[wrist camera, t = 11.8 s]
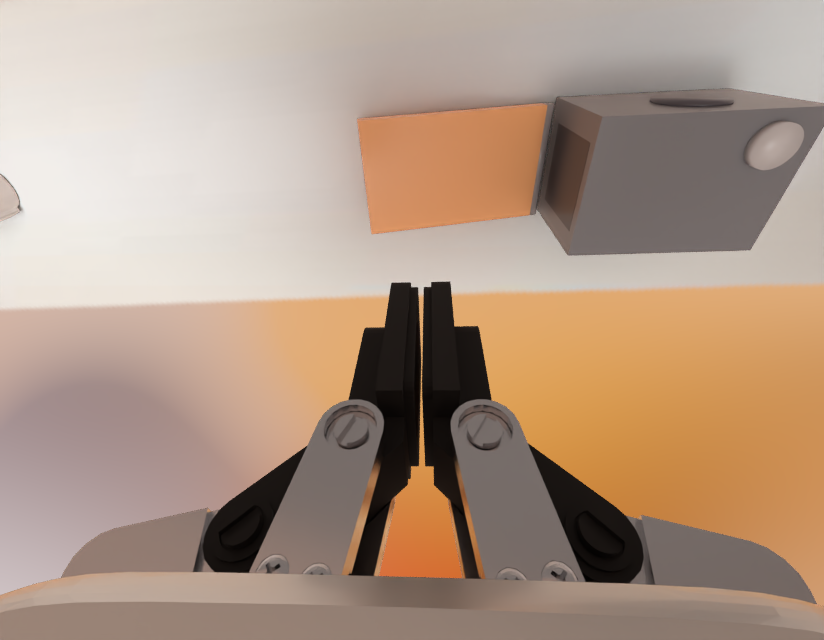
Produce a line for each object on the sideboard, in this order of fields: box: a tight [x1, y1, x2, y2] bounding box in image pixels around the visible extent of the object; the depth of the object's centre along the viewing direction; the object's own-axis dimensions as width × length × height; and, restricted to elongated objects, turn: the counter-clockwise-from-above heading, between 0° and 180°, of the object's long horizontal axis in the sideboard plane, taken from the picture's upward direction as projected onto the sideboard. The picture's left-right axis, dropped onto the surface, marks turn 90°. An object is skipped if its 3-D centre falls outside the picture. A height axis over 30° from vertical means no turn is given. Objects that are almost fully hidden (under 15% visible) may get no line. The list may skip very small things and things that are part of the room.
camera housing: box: [537, 88, 824, 255], centre depth 21 cm, size 10×7×8 cm
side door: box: [357, 103, 555, 234], centre depth 23 cm, size 1×7×12 cm
